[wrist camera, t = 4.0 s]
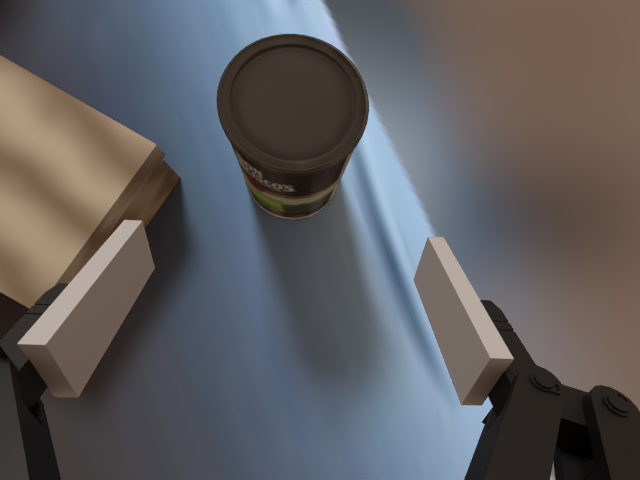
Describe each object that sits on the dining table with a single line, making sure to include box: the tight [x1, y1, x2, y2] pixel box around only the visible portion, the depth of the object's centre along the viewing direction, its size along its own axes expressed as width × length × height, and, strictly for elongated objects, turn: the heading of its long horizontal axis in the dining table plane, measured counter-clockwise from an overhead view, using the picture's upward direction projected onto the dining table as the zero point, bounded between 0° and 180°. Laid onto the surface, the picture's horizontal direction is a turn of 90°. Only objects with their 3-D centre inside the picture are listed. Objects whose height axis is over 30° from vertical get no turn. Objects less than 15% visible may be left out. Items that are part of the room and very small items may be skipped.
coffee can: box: [217, 34, 369, 220], centre depth 29 cm, size 10×10×14 cm
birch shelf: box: [0, 55, 180, 309], centre depth 30 cm, size 16×20×7 cm
